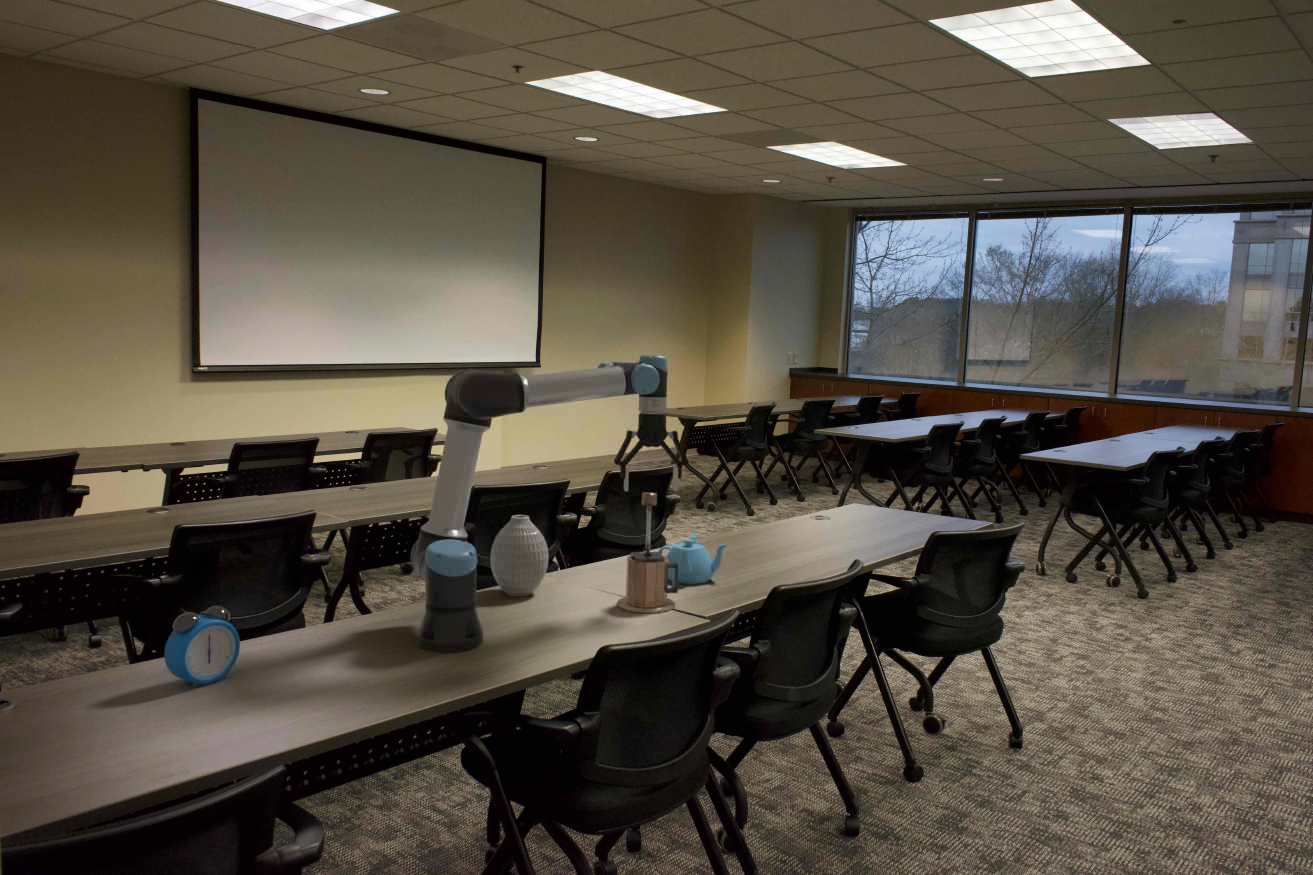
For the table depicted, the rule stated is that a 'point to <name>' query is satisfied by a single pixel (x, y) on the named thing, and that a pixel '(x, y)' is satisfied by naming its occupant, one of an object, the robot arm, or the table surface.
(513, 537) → the vase
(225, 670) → the alarm clock
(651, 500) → the plunger
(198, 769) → the table surface
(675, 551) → the teapot
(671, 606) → the press
